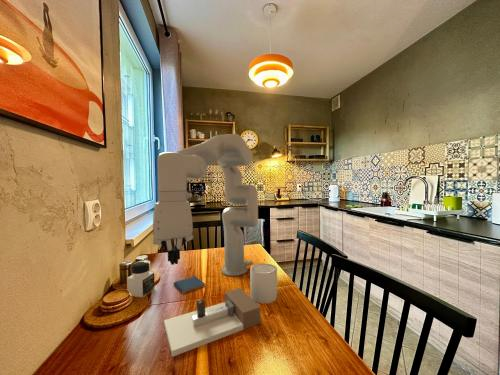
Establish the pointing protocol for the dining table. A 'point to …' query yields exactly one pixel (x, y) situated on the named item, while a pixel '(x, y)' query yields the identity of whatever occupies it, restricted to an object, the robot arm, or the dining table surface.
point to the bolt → (208, 313)
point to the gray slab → (212, 323)
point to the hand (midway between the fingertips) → (173, 262)
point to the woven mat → (188, 284)
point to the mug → (263, 283)
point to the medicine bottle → (140, 280)
